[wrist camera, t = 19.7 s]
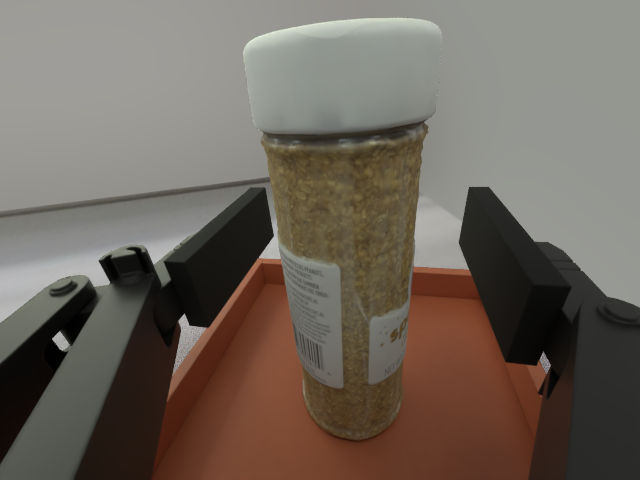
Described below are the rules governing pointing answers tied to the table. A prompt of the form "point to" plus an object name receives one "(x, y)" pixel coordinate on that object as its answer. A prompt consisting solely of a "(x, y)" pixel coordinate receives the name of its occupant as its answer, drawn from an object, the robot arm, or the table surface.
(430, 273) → the tray
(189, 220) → the table surface
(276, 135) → the spice jar
